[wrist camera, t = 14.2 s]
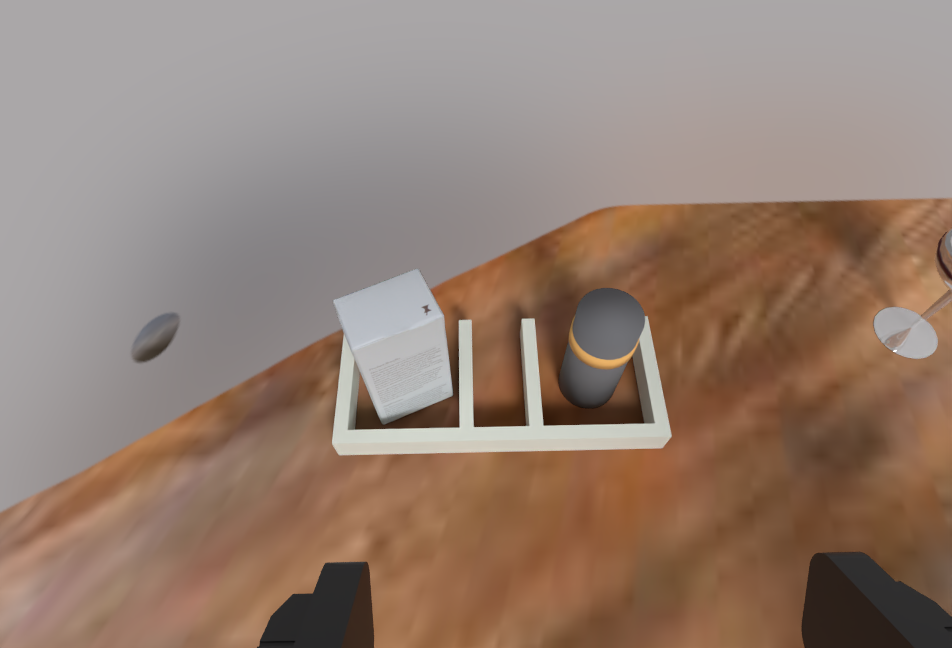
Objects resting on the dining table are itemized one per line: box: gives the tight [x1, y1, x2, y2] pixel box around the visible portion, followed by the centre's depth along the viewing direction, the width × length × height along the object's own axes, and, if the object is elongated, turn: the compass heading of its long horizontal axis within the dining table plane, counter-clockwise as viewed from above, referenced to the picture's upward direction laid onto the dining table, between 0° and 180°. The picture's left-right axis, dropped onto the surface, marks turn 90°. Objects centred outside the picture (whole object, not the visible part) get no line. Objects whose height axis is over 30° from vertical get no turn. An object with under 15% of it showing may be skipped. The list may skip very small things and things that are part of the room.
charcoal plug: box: [559, 288, 645, 408], centre depth 42 cm, size 5×5×10 cm
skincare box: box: [333, 269, 453, 425], centre depth 41 cm, size 6×4×12 cm
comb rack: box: [332, 316, 672, 455], centre depth 45 cm, size 24×10×2 cm, turn 91°
